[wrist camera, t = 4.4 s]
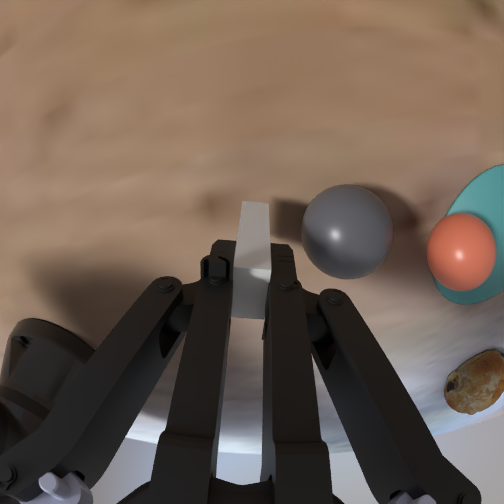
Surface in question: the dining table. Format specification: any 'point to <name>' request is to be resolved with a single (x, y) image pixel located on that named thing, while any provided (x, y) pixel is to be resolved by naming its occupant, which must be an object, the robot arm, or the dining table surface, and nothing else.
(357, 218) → the gray ball
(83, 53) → the dining table surface
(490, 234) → the red ball
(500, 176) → the teal mark
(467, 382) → the bread roll
